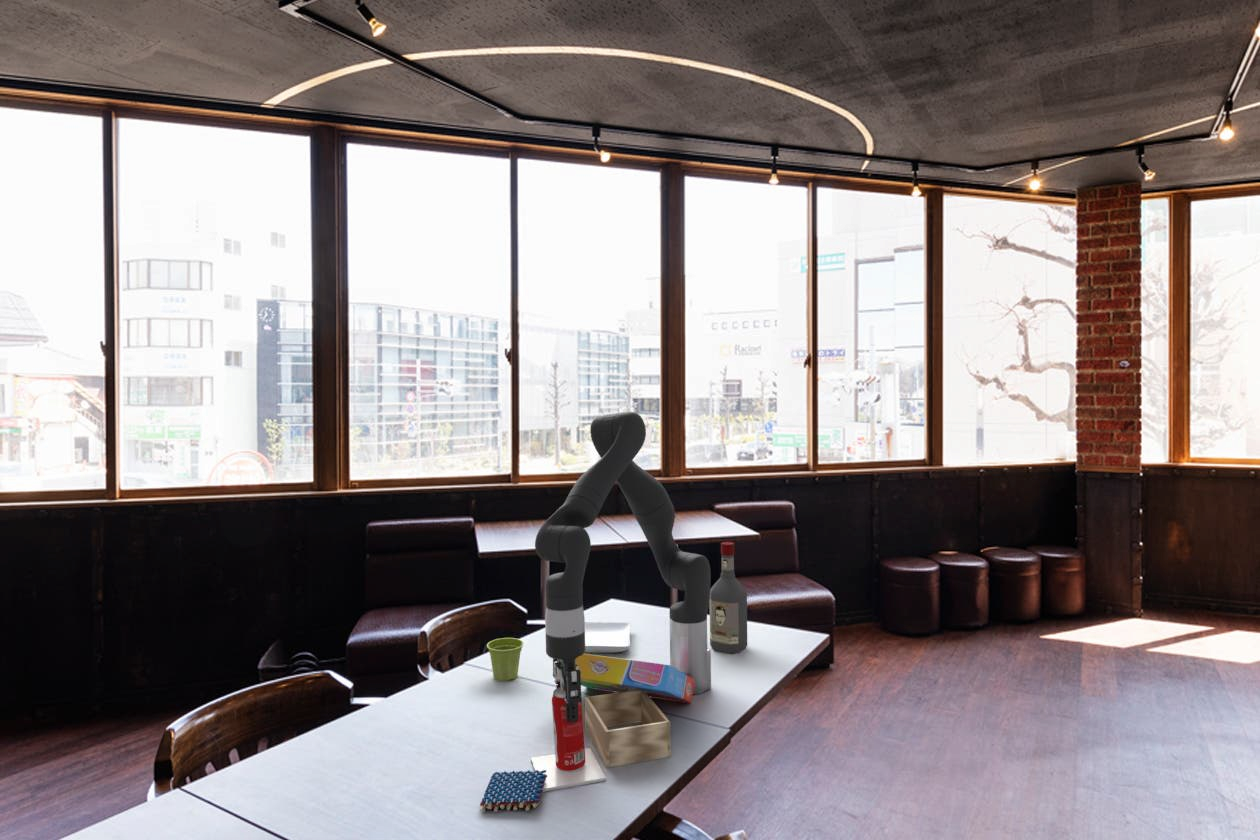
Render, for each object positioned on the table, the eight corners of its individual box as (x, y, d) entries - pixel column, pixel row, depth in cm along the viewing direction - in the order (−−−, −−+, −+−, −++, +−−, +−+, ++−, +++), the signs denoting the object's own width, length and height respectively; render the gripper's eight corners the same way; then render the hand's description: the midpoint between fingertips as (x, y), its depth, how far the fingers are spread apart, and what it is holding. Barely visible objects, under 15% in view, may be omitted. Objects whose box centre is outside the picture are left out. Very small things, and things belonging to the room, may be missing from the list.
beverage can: (589, 760, 141) (588, 684, 140) (576, 777, 134) (575, 698, 134) (562, 756, 143) (560, 681, 142) (548, 772, 136) (546, 694, 136)
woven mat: (491, 780, 135) (491, 769, 134) (548, 778, 134) (547, 767, 134) (478, 813, 124) (477, 801, 124) (539, 811, 124) (538, 799, 124)
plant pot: (528, 670, 190) (527, 638, 189) (519, 684, 180) (518, 650, 180) (493, 669, 190) (492, 637, 190) (482, 683, 181) (482, 649, 181)
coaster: (589, 750, 146) (589, 748, 146) (605, 780, 134) (605, 777, 134) (531, 760, 142) (531, 757, 142) (542, 791, 131) (542, 789, 131)
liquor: (722, 640, 210) (721, 539, 210) (750, 646, 205) (749, 542, 204) (706, 649, 203) (705, 544, 202) (735, 656, 198) (734, 548, 197)
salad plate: (630, 657, 199) (630, 645, 199) (553, 657, 199) (553, 645, 199) (631, 632, 220) (631, 621, 220) (562, 633, 221) (561, 622, 221)
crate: (643, 720, 159) (642, 688, 159) (670, 756, 143) (670, 721, 143) (585, 729, 155) (584, 697, 155) (606, 767, 139) (606, 732, 139)
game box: (551, 674, 161) (666, 691, 151) (556, 649, 163) (669, 664, 153) (587, 687, 178) (692, 703, 168) (591, 665, 180) (695, 679, 170)
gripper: (593, 638, 132) (595, 725, 132) (575, 616, 145) (577, 694, 146) (553, 643, 129) (555, 732, 130) (539, 620, 143) (541, 700, 143)
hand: (567, 712), depth 138 cm, fingers open, 8 cm apart
